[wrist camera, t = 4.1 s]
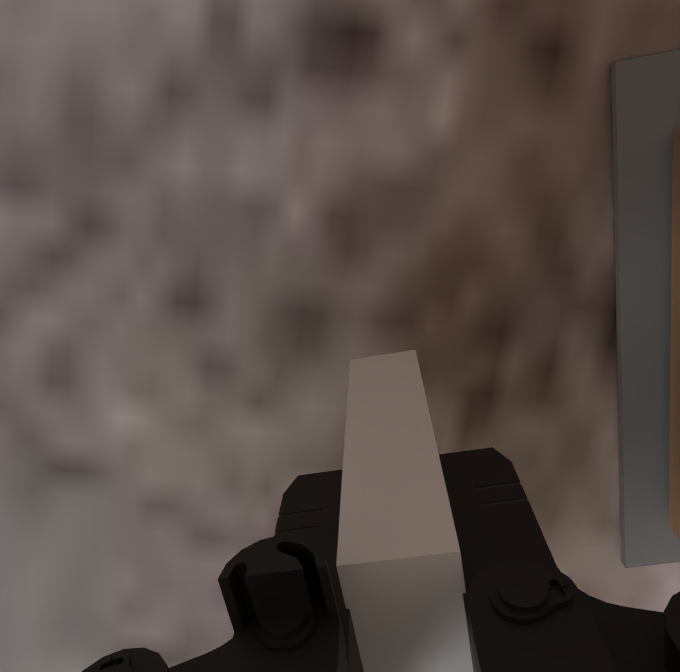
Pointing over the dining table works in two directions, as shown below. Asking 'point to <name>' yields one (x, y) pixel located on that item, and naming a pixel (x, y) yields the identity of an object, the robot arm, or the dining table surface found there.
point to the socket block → (675, 347)
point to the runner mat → (644, 297)
